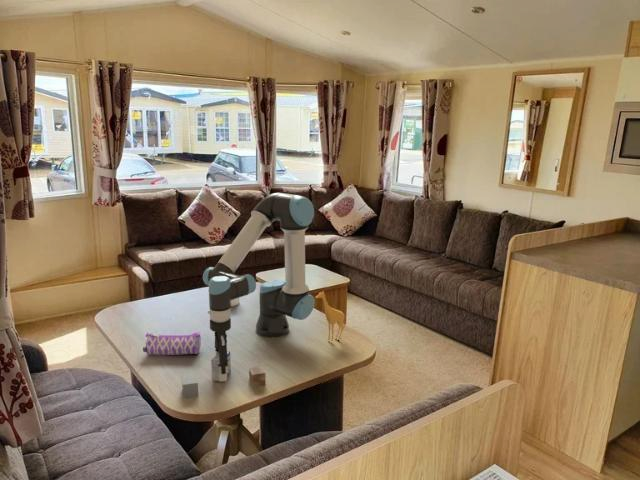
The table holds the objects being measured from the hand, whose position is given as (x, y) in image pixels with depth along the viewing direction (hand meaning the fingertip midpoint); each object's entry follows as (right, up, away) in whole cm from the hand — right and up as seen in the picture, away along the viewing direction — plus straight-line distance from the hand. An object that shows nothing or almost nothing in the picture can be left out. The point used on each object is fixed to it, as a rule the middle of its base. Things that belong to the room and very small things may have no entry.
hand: (221, 374), depth 179 cm
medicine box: (0, -1, 0) cm, 1 cm away
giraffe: (+41, +5, +30) cm, 51 cm away
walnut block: (+14, -2, -3) cm, 14 cm away
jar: (-9, +17, +70) cm, 73 cm away
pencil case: (-23, +4, +17) cm, 29 cm away
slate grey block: (-9, -4, -11) cm, 14 cm away
